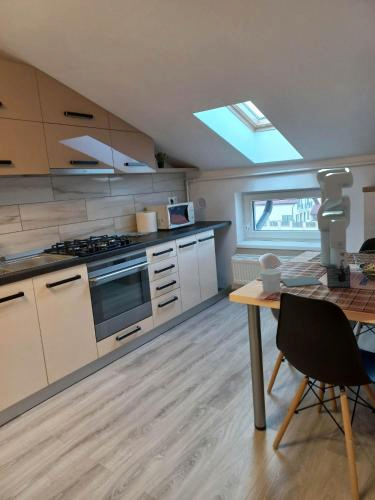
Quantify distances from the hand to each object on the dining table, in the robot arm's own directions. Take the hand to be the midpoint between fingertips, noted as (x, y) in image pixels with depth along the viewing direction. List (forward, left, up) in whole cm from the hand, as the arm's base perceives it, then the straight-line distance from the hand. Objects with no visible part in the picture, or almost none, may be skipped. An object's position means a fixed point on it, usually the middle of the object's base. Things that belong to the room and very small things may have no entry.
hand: (338, 279), depth 184 cm
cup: (+33, -2, -4) cm, 33 cm away
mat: (+15, -12, -4) cm, 20 cm away
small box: (0, 0, -4) cm, 4 cm away
